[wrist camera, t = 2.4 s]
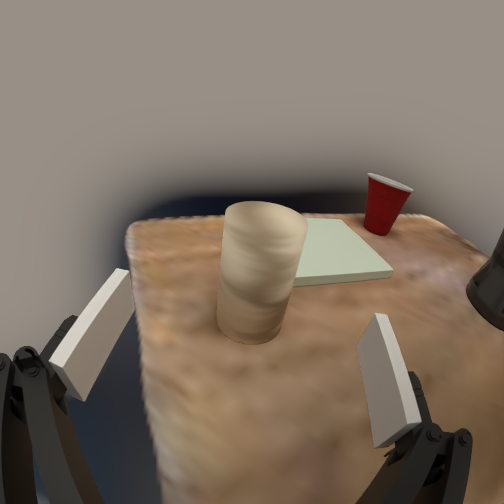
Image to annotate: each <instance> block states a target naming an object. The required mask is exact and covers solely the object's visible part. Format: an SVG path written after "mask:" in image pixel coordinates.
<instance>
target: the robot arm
mask: <svg viewBox="0 0 504 504" xmlns="http://www.w3.org/2000/svg"><path fill="white" fill-rule="evenodd" d="M467 294H468V297H469V299H470V300H471V302H472V304H473V305H474V306H475V308H476V309H477V310H478V311H479V312H480V313H481V314H482V315H483V316H484V317H485V318H486V319H487V320H488V321H489V322H491V323H492V324H493V325H495V326H496V327H498V328H500V329H502V330H504V229H503V231H502V234H501V236H500V238H499V240H498V243H497V245H496V247H495V249H494V252H493V254H492V256H491V258H490V259H489V260H488V261H487V262H486V263H485V264H484V265H483V266H482V267H481V268H480V270H479V271H478V272H477V273H476V274H475V275H474V276H473V277H472V278H471V280H470V282H469V284H468V286H467ZM134 310H135V307H134V301H133V295H132V288H131V282H130V274H129V271H126V270H122V269H118V268H117V269H116V270H115V272H114V273H113V274H112V275H111V276H110V277H109V279H108V280H107V281H106V282H105V284H104V285H103V286H102V287H101V289H100V290H99V291H98V292H97V294H96V295H95V296H94V298H93V299H92V300H91V301H90V303H89V304H88V306H87V307H86V308H85V310H84V311H83V312H82V314H81V315H80V316H79V317H77V316H74V315H72V316H70V317H69V318H67V319H66V320H64V322H63V323H62V324H61V326H60V327H59V329H58V330H57V331H56V333H55V334H54V336H53V337H52V338H51V339H50V341H49V342H48V344H47V345H46V346H45V348H44V349H43V351H42V352H41V354H40V355H38V353H37V351H36V350H35V349H34V348H32V347H30V346H24V347H21V348H20V349H19V350H18V351H16V353H15V355H14V358H13V361H11V359H10V358H9V356H7V355H6V354H4V353H0V504H38V502H37V496H36V490H35V481H34V471H33V457H32V448H33V451H34V455H35V459H36V463H37V466H38V470H39V473H40V476H41V479H42V482H43V485H44V488H45V490H46V493H47V496H48V498H49V501H50V504H104V502H103V499H102V497H101V495H100V494H99V491H98V489H97V487H96V485H95V483H94V480H93V478H92V476H91V473H90V471H89V469H88V466H87V463H86V461H85V458H84V455H83V453H82V450H81V447H80V444H79V441H78V438H77V435H76V432H75V428H74V425H73V422H72V418H71V415H70V411H69V407H68V403H67V399H66V396H65V393H66V391H67V390H68V391H69V392H70V394H71V395H72V396H73V397H76V398H78V399H80V400H82V401H84V402H85V400H86V398H87V396H88V394H89V392H90V390H91V388H92V386H93V384H94V382H95V380H96V378H97V376H98V374H99V372H100V370H101V368H102V367H103V365H104V363H105V361H106V359H107V357H108V355H109V353H110V352H111V350H112V348H113V346H114V345H115V343H116V341H117V339H118V337H119V336H120V334H121V332H122V330H123V329H124V327H125V325H126V323H127V322H128V320H129V318H130V317H131V315H132V313H133V312H134ZM356 350H357V354H358V359H359V364H360V368H361V373H362V378H363V383H364V388H365V394H366V399H367V405H368V411H369V417H370V423H371V430H372V436H373V444H374V449H376V448H384V447H389V446H390V445H391V444H393V443H394V442H395V448H393V449H392V450H390V451H389V452H387V453H386V454H385V455H384V457H386V456H388V455H389V454H390V455H389V456H388V458H387V460H386V461H385V463H384V464H383V466H382V467H381V469H380V471H379V472H378V474H377V475H376V476H375V478H374V479H373V481H372V482H371V484H370V485H369V486H368V488H367V489H366V490H365V492H364V493H363V494H362V496H361V497H360V498H359V500H358V501H357V502H356V503H355V504H463V500H464V496H465V491H466V486H467V481H468V475H469V468H470V461H471V453H472V443H473V440H472V435H471V433H470V432H469V431H468V430H467V429H464V428H461V429H459V430H458V431H456V432H455V433H449V432H443V431H442V430H441V428H440V427H439V426H438V425H437V424H434V423H432V420H431V417H430V413H429V410H428V406H427V403H426V400H425V397H424V393H423V390H422V387H421V384H420V381H419V379H418V377H417V376H416V374H415V373H414V372H413V371H411V372H407V369H406V366H405V363H404V360H403V357H402V354H401V351H400V349H399V346H398V343H397V340H396V337H395V335H394V332H393V329H392V327H391V324H390V322H389V319H388V317H387V314H378V313H375V314H374V316H373V318H372V319H371V321H370V323H369V325H368V327H367V328H366V330H365V332H364V334H363V335H362V337H361V339H360V341H359V342H358V344H357V346H356Z"/></svg>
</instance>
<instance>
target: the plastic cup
mask: <svg viewBox="0 0 504 504" xmlns="http://www.w3.org/2000/svg"><path fill="white" fill-rule="evenodd" d="M368 177H369V185H368V197H367V204H366V215H365V221H364V227H365V228H366V229H367V230H368V231H370V232H372V233H374V234H377V235H381V236H385V235H387V233H388V232H389V231H390V229H391V227H392V225H393V223H394V222H395V220H396V218H397V217H398V215H399V213H400V211H401V209H402V207H403V205H404V203H405V202H406V200H407V198H408V197H409V195H410V194H411V192H413V191H414V190H412V189H411V188H409V187H407V186H405V185H403V184H400V183H398V182H396V181H393V180H391V179H388V178H385V177H382V176H379V175H375V174H372V173H368Z"/></svg>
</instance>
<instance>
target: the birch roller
mask: <svg viewBox="0 0 504 504" xmlns="http://www.w3.org/2000/svg"><path fill="white" fill-rule="evenodd" d="M307 231H308V222H307V220H306V219H305V218H304V217H303V216H302V215H301V214H299V213H298V212H296V211H294V210H292V209H289V208H287V207H284V206H281V205H278V204H273V203H268V202H258V201H248V202H240V203H236V204H233V205H231V206H230V207H228V208H227V210H226V213H225V222H224V232H223V243H222V253H221V265H220V276H219V289H218V302H217V315H216V321H217V325H218V327H219V329H220V330H221V332H222V333H223V334H224V335H226V336H227V337H228V338H230V339H232V340H234V341H236V342H239V343H243V344H249V345H256V344H262V343H266V342H268V341H270V340H272V339H273V338H274V337H276V335H277V334H278V333H279V331H280V328H281V325H282V321H283V318H284V315H285V311H286V308H287V304H288V301H289V297H290V294H291V290H292V287H293V283H294V280H295V276H296V272H297V269H298V265H299V261H300V258H301V254H302V250H303V246H304V242H305V238H306V234H307Z"/></svg>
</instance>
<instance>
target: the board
mask: <svg viewBox="0 0 504 504" xmlns="http://www.w3.org/2000/svg"><path fill="white" fill-rule="evenodd" d="M305 219H306V220H307V222H308V231H307V234H306V238H305V242H304V246H303V250H302V254H301V258H300V261H299V265H298V269H297V272H296V276H295V280H294V283H293V287H295V286H308V285H320V284H331V283H342V282H352V281H362V280H372V279H381V278H390V277H391V275H392V273H393V271H394V269H393V268H392V267H391V266H390V265H389V264H388V263H386V262H385V261H384V260H383V259H382V258H381V257H380V256H379V255H378V254H377V253H376V252H375V251H374V250H373V249H372V248H371V247H370V246H369V245H368V244H367V243H366V242H365V241H363V240H362V239H361V238H360V237H359V236H358V235H357V234H356V233H355V232H354V231H353V230H351V229H350V228H349V227H348V226H347V225H346V224H345V223H344V222H343V221H341V220H340V219H320V218H305Z"/></svg>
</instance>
